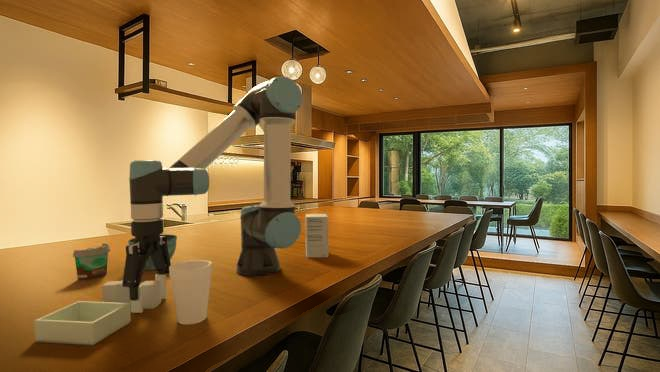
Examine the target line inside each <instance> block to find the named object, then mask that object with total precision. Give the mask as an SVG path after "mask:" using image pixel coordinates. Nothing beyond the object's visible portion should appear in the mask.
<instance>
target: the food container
mask: <svg viewBox="0 0 660 372" xmlns="http://www.w3.org/2000/svg"><path fill="white" fill-rule="evenodd" d="M110 252H111V248H110V245H109V244H108V243H102V244H101V246H98V247H97V246H96V247H89V248H87V249H81V250H80V249H79V250H78V249H77V250H76V249H74V250H73V253H72V257H73V258H74V261H75V269H76V277H77V281H88V280H89V281H90V280H95V279H98V278H102V277H105V276H107V273H108V263H109V262H108V261H109V259H108V258H109V253H110Z"/></svg>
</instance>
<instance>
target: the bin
mask: <svg viewBox="0 0 660 372" xmlns="http://www.w3.org/2000/svg"><path fill="white" fill-rule="evenodd" d="M131 320H132V319H131V308H130V303H114V302H103V301H92V300H91V301H90V300H89V301H88V300H87V301H85V300H84V301H83V300H78V301H76V302H73V303H71V304H69V305H66V306H65V307H64V306H63V307H61V308H60V309H56V310H55V311H53V312H51V313H48V314H46V315H44V316H42V317H39V318H36V319H34V342H35V343H48V344H49V343H50V344H67V345H82V346H83V345H85V346H94V345H96V344H98V343H99V342H101V341H102V340H104V339H106V338H107V337H109V336H110V335H112V334H114V333H116V332H117V331H118V330H120V329H122V328H124V327H126V326H127V325H128V324H130V323H131Z"/></svg>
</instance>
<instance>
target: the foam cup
mask: <svg viewBox="0 0 660 372" xmlns="http://www.w3.org/2000/svg"><path fill="white" fill-rule="evenodd" d="M168 270H169V279H170V283H171V289H172V294H173V300H174V306H175V311H176V317H177V323H178V324H180V325H195V324H198V323H201V322H203V321H204V320H206V319H207V313H208V307H209V306H208V305H209V298H210V297H209V296H210V289H211V280H212V274H213V262H212V261H210V260H206V259H191V260H190V259H189V260H184V261H178V262H175V263H171V266H169V269H168Z"/></svg>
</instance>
